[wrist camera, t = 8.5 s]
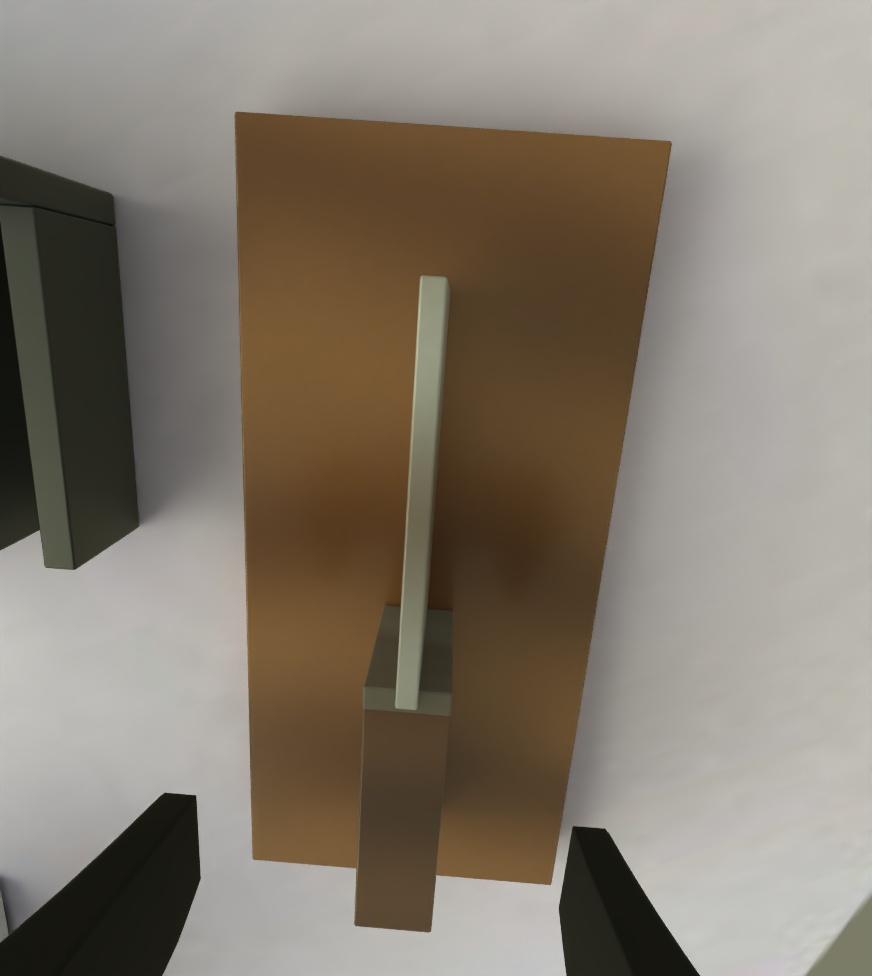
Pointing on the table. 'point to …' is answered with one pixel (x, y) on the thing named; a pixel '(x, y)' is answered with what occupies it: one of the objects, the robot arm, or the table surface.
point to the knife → (409, 679)
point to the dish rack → (62, 370)
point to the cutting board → (462, 453)
